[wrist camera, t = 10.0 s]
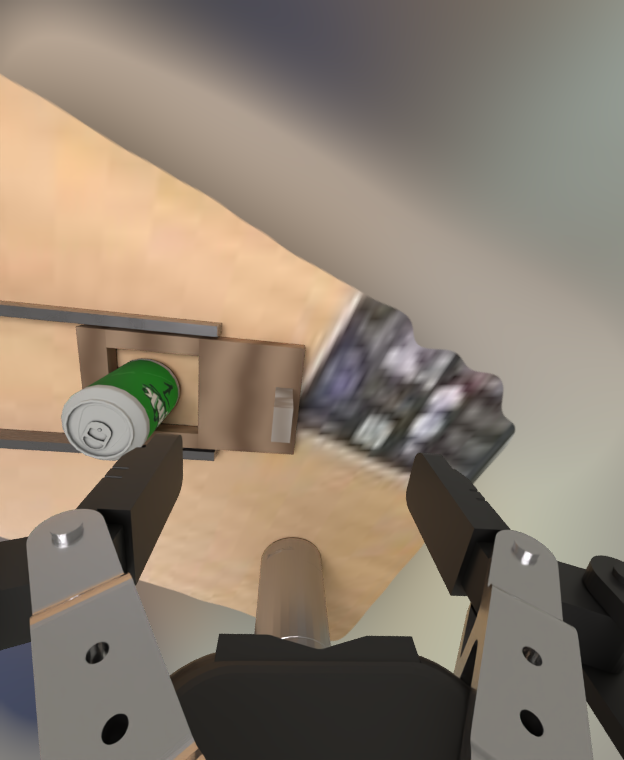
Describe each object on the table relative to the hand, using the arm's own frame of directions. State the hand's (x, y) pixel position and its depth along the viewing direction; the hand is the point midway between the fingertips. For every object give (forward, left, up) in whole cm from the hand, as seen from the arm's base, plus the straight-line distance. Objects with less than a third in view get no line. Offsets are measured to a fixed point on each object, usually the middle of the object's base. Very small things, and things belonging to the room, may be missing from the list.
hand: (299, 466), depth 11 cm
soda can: (0, +19, -30) cm, 36 cm away
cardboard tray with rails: (-3, +14, -30) cm, 33 cm away
